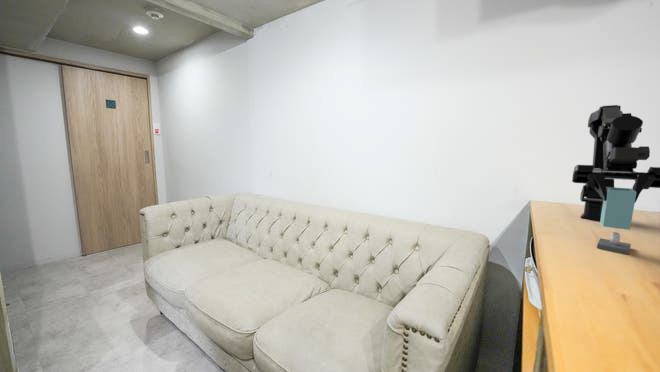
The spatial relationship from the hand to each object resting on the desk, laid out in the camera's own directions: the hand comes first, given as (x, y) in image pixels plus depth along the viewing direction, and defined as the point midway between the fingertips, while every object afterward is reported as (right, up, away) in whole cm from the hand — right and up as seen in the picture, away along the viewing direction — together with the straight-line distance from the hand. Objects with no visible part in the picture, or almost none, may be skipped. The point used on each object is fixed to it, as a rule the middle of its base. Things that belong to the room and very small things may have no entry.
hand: (619, 201), depth 73 cm
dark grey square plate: (+2, -13, +3) cm, 14 cm away
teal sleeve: (+1, -7, +2) cm, 7 cm away
